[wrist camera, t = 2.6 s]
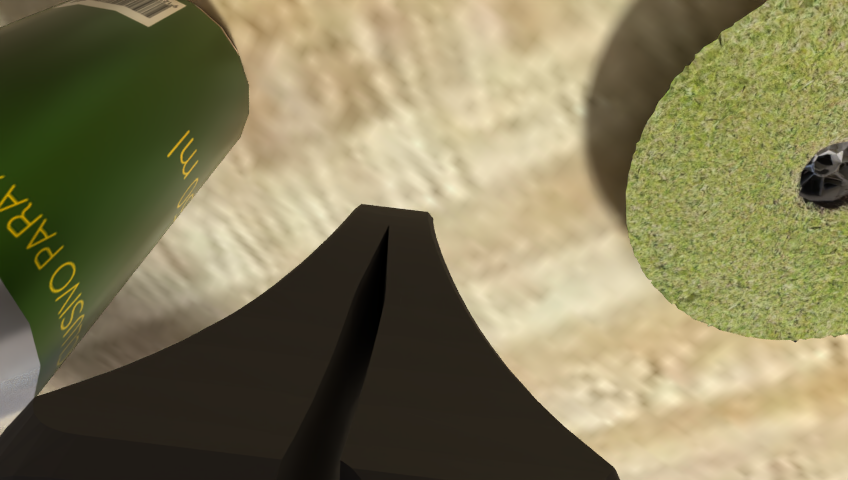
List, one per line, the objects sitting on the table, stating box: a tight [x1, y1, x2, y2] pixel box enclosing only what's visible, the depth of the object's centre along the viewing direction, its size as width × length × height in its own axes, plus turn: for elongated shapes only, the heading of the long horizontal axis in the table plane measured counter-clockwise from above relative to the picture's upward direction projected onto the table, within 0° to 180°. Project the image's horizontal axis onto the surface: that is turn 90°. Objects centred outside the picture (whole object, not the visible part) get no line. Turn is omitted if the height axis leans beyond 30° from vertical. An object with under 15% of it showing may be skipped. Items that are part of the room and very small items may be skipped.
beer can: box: [0, 0, 249, 429], centre depth 13 cm, size 5×5×12 cm
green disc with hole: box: [626, 0, 848, 342], centre depth 17 cm, size 11×11×2 cm
